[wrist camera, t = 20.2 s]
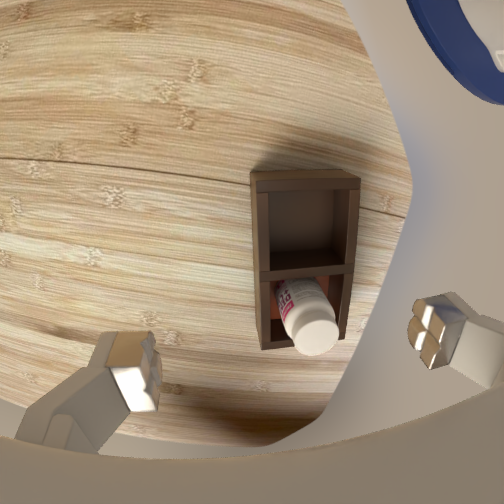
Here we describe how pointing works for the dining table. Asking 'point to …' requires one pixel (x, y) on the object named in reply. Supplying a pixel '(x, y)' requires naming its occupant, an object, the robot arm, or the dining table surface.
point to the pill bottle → (307, 315)
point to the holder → (302, 241)
